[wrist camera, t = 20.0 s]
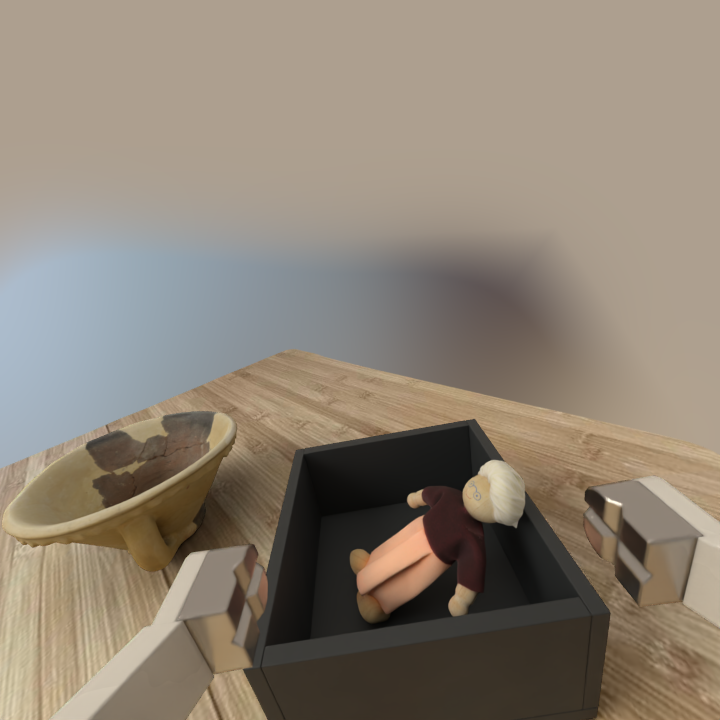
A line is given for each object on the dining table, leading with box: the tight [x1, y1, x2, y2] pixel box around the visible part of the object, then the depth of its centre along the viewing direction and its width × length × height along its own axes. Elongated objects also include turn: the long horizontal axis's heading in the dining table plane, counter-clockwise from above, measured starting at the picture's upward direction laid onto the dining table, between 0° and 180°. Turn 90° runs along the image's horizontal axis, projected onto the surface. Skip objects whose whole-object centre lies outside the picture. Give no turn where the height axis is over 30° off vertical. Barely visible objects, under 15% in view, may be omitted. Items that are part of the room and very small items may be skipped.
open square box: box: [243, 419, 610, 720], centre depth 23 cm, size 16×16×8 cm
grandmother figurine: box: [350, 460, 525, 624], centre depth 20 cm, size 8×4×13 cm
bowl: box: [2, 411, 237, 572], centre depth 32 cm, size 18×18×10 cm
